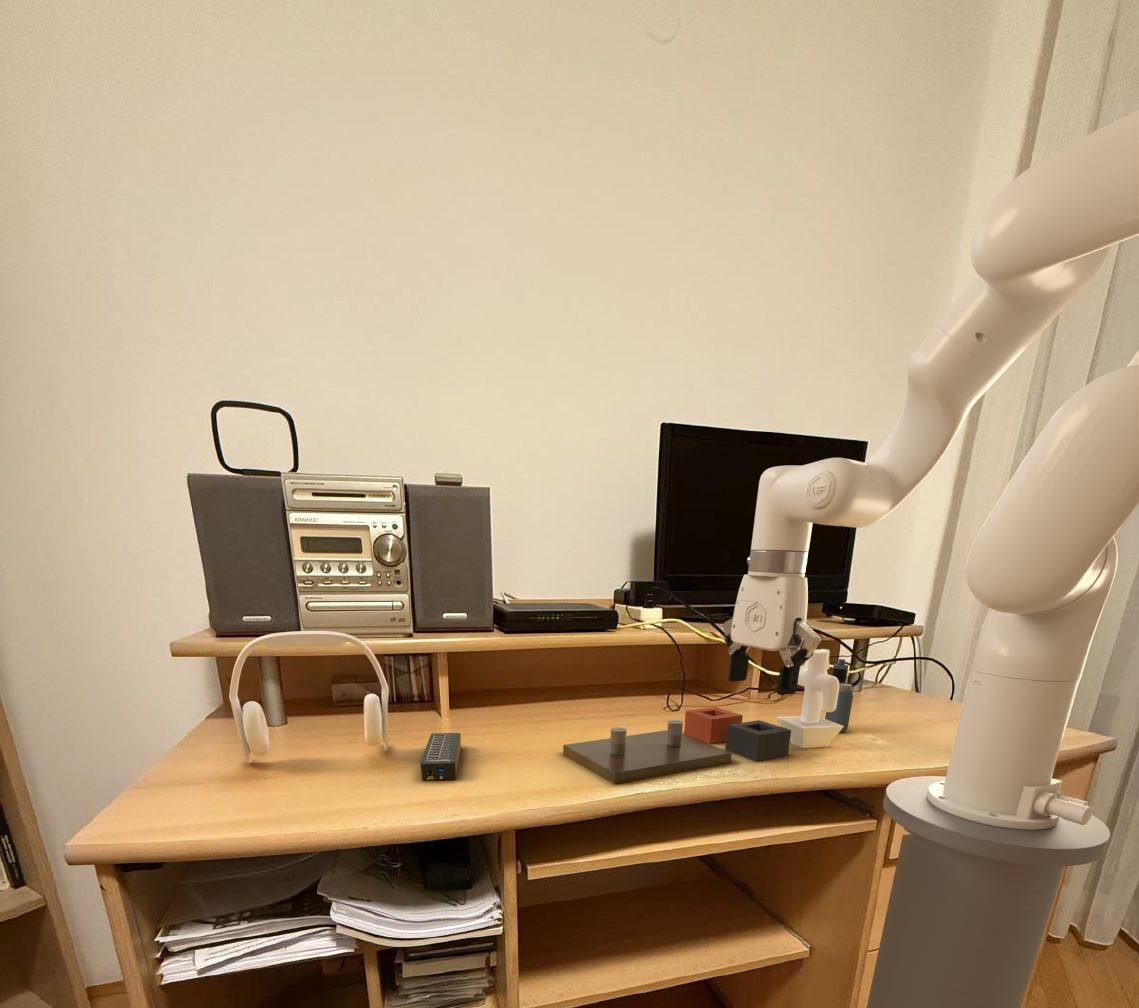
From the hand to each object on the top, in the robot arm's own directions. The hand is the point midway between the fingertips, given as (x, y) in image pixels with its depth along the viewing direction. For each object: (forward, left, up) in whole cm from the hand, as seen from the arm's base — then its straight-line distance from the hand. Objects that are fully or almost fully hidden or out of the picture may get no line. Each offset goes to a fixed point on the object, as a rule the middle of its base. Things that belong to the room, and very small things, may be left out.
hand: (760, 687), depth 89 cm
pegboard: (+4, +17, -10) cm, 20 cm away
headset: (+24, +59, -10) cm, 65 cm away
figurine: (-1, -11, -10) cm, 15 cm away
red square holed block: (+9, 0, -10) cm, 14 cm away
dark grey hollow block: (-1, 0, -10) cm, 10 cm away
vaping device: (+3, -23, -10) cm, 26 cm away
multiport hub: (+15, +44, -10) cm, 48 cm away
